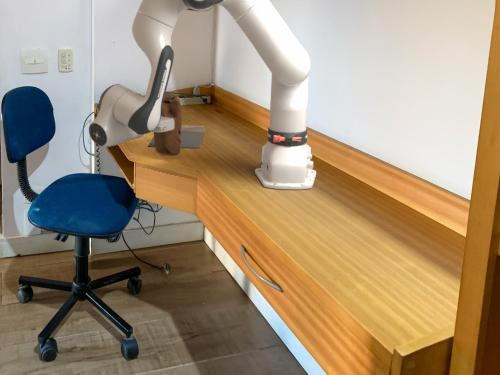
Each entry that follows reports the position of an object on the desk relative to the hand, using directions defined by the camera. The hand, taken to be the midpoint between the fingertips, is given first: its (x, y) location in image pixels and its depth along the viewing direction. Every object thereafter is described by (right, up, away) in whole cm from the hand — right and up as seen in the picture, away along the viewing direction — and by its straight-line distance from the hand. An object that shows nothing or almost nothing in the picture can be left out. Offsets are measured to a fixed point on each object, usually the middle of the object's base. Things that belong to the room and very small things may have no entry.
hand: (158, 117), depth 197 cm
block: (+2, -11, +9) cm, 14 cm away
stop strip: (+3, -1, +37) cm, 38 cm away
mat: (+3, -5, +25) cm, 26 cm away
